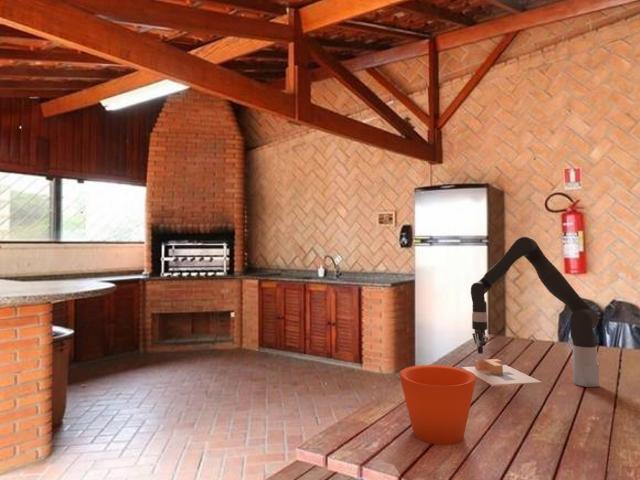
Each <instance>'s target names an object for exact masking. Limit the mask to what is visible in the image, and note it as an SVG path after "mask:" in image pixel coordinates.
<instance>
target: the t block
mask: <svg viewBox="0 0 640 480" xmlns="http://www.w3.org/2000/svg"><path fill="white" fill-rule="evenodd" d="M474 365H475V368H476V369H478V370H488V371H490V372H492V373H494V374H503V365H504V364H503V362H502V360H500V359H498V358H494V359H493V358H492V359H490V358H489V359H475V360H474Z"/></svg>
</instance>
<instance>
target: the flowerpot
mask: <svg viewBox="0 0 640 480" xmlns="http://www.w3.org/2000/svg"><path fill="white" fill-rule="evenodd" d="M398 375H399V379H400V384H401V387H402V392H403V395H404V400H405V404H406V409H407V412H408V416H409V420H410V425H411V427H412V431H413V435H414V437H415V438H417V439H418V440H420V441H422V442H424V443H428V444H431V445H437V446H448V445H449V446H450V445H455V444H458V443H460V442H462V441H463V440H464V437H465V432H466V429H467V428H466V427H467V423H468V418H469V415H470V409H471V404H472V399H473V395H474V392H475V390H474V389H475V386H476V381H477V376H476V375H475V374H473V373H472V372H470V371H467V370H465V369H464V368H462V367H461V368H460V367H454V366H449V365H440V364H439V365H438V364H422V365H413V366H408V367H405V368H403V369H401V370H400V371H399V374H398Z"/></svg>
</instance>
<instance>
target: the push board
mask: <svg viewBox="0 0 640 480" xmlns="http://www.w3.org/2000/svg"><path fill="white" fill-rule="evenodd" d="M502 365H503V374H494V373H492V372H490V371H488V370H478V369H476V368H475V366H461V369H464V370H467V371H470V372H472V373H473V374H475V375H476V378H479V379H481V380H482V381H484V382H485V383H487V384H489V387H497V386H498V387H499V386H516V385H517V386H518V385H529V384H530V385H531V384H534V383H535V384H542V381H541V380H539V379H536V378H535V377H532V376H530V375H527V374H526V373H524V372H521V371H519V370H517V369H515V368H513V367H510V366H509V365H507V364H502Z"/></svg>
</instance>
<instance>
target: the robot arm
mask: <svg viewBox="0 0 640 480" xmlns="http://www.w3.org/2000/svg"><path fill="white" fill-rule="evenodd" d="M522 257H524V258H526V260H527V261H528V262H529V263H530V264H531V265H532V267H533V269H535V271H536V275H537V276H538V278H539V280H540V282H541V283H542V284H543V286H544V287H545V288H546V290H547V291H548V292H549V293H550V294H551V296H553V297H554V298H556V299H558V300H559V301H560V302H562V303H563V304H564V305H565V306H566V307H567V308H568V309H569V311H570V312H571V314H570V316H569V333H570V338H571V341H572V367H573V369H572V370H573V371H572V372H573V384H575V385H577V386H581V387H584V388H585V387H586V388H596V387H597V388H599V387H600V370H599V369H600V368H599V364H598V360H597V359H598V352H597V348H598V345H597V340H596V338H594V333H593V331H594V330H593V329H594V328H596V327H597V326H598V324H599V316H598V314H597V313H596V311H594V310H593V308H592V307H590V306H589V305H588V304H587V302H586V301H584V299H583V298H582V297H581V296H579V294H578V293H577V291H576V290H575V289H574V288H573V287H572V285H571V284H570V283H569V282H568V280H567V279H566V278H565V276H564V275H563V274H562V273H561V272H560V270H558V268H557V267H556V266H555V265H554V264H553V263H552V262H551V261H550V260H549V259H548V258H547V257H546V255H545V254H544V252H543V251H542V250H541V248H540V246H539V245H538V243H537V242H536V241H535V240H534V239H533V238H531V237H528V236H520V237H518V238H516V240H515V241H514V242H513V243H512V245H511V246H510V247H509V249H508V250H507V251H506V252H505V254H504V255H503V256H502V257H501V258H500V259H499V260H498V261H497V262H495V264H494V265H493V266H492V267H490V269H488V271H486V272H485V273H484V275H483V277H482V278H480V279H479V280H478V281H477V282H474V283H472V284H471V287H470V297H471V301H472V314H471V319H472V320H471V323H472V325H471V326H472V327H471V328H472V329H473V330H474V332H473V333H472V338H473V341H474V343H475V345H476V346H477V353H478V354H481V355H482V354H484V353H483V352H484V350H483V349H484V347H486V345H487V342H488V340H489V337H487V336H486V331H487V330H488V327H489V326H488V311H487V310H488V308H487V301H486V300H485V299H486V298H485V294H486V293H488V291H490V289H491V288H493V286H494V285H495V284H496V283H498V282H499V281H500V280H501V279H502V278H503V277H504V276H505V275H506V274H508V271H509V270H510V269H511V267H512V266H513V264H514V263H515V262H517V261H518V260H519V259H520V258H522Z"/></svg>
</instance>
